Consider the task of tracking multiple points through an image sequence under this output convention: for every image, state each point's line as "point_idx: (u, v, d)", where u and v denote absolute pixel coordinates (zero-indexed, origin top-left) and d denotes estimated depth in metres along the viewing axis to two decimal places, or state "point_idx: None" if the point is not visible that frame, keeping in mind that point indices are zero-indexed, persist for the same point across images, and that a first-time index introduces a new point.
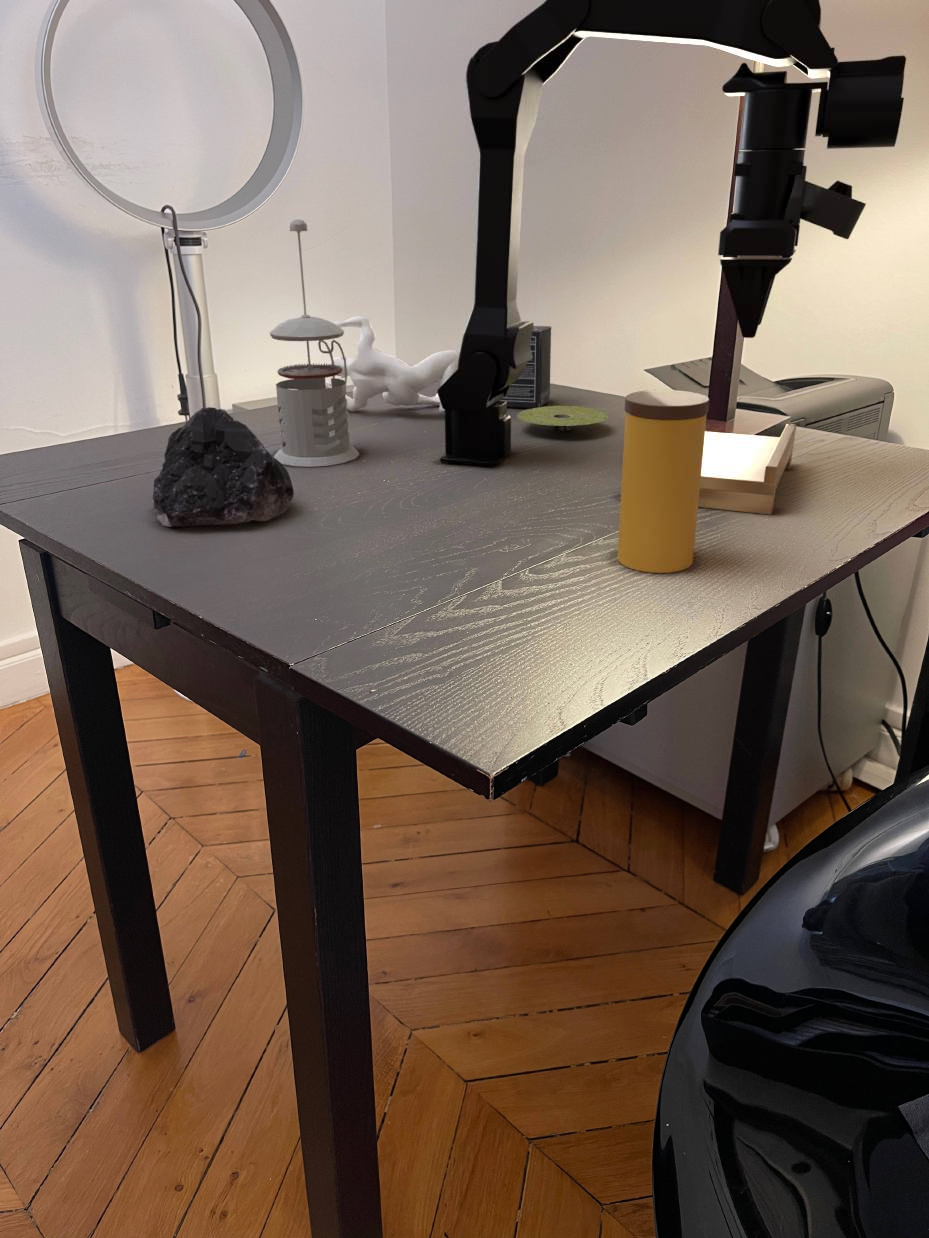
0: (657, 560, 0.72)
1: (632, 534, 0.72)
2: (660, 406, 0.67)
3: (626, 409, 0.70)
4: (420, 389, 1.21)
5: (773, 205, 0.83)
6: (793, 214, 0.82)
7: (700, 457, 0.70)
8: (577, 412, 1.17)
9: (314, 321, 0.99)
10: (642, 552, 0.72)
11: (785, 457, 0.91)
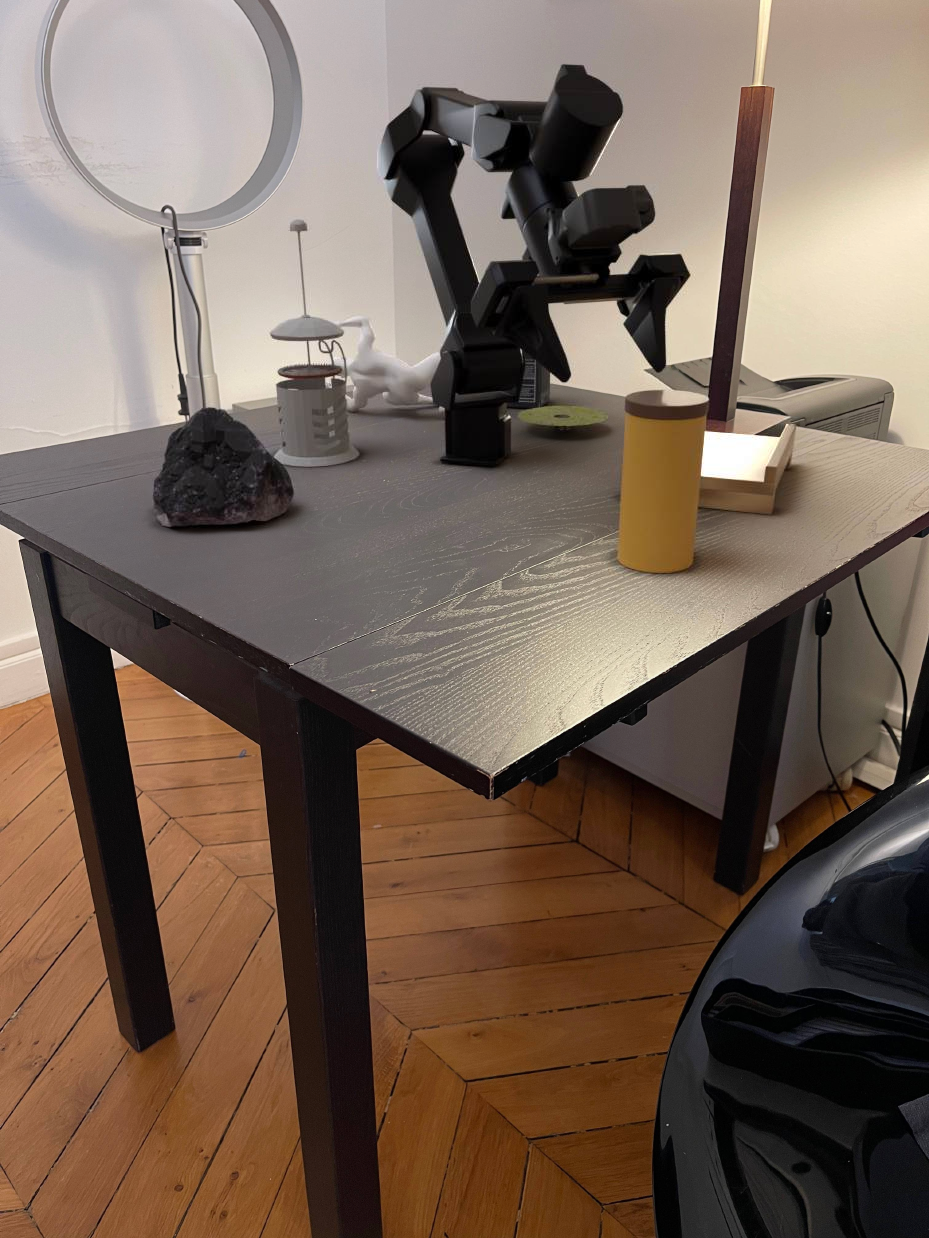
0: (657, 560, 0.72)
1: (632, 534, 0.72)
2: (660, 406, 0.67)
3: (626, 409, 0.70)
4: (420, 389, 1.21)
5: (546, 259, 0.78)
6: (555, 251, 0.76)
7: (700, 457, 0.70)
8: (577, 412, 1.17)
9: (314, 321, 0.99)
10: (642, 552, 0.72)
11: (785, 457, 0.91)
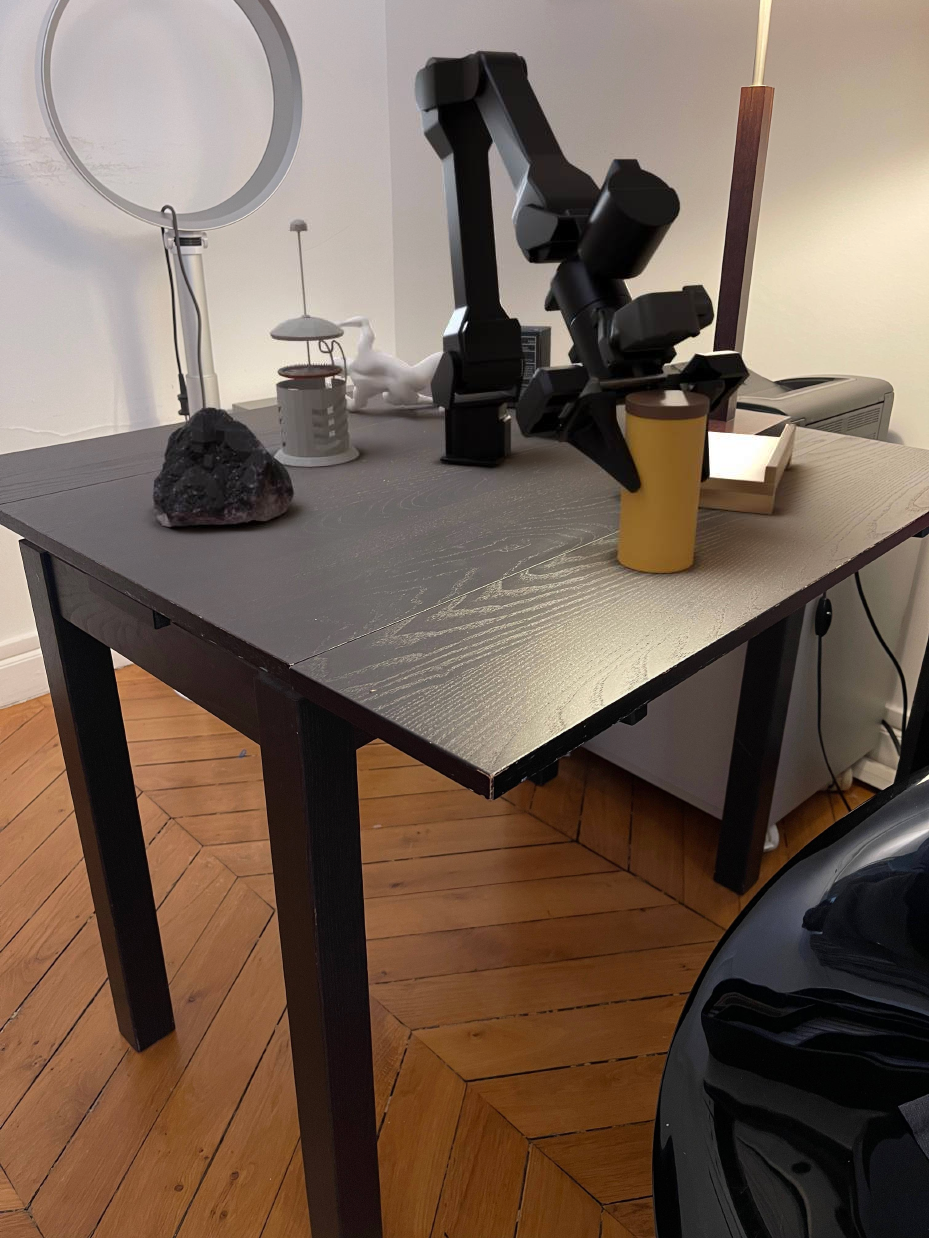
0: (657, 560, 0.72)
1: (632, 534, 0.72)
2: (660, 406, 0.67)
3: (626, 409, 0.70)
4: (420, 389, 1.21)
5: (595, 361, 0.73)
6: (606, 354, 0.71)
7: (700, 457, 0.70)
8: None
9: (314, 321, 0.99)
10: (642, 552, 0.72)
11: (785, 457, 0.91)
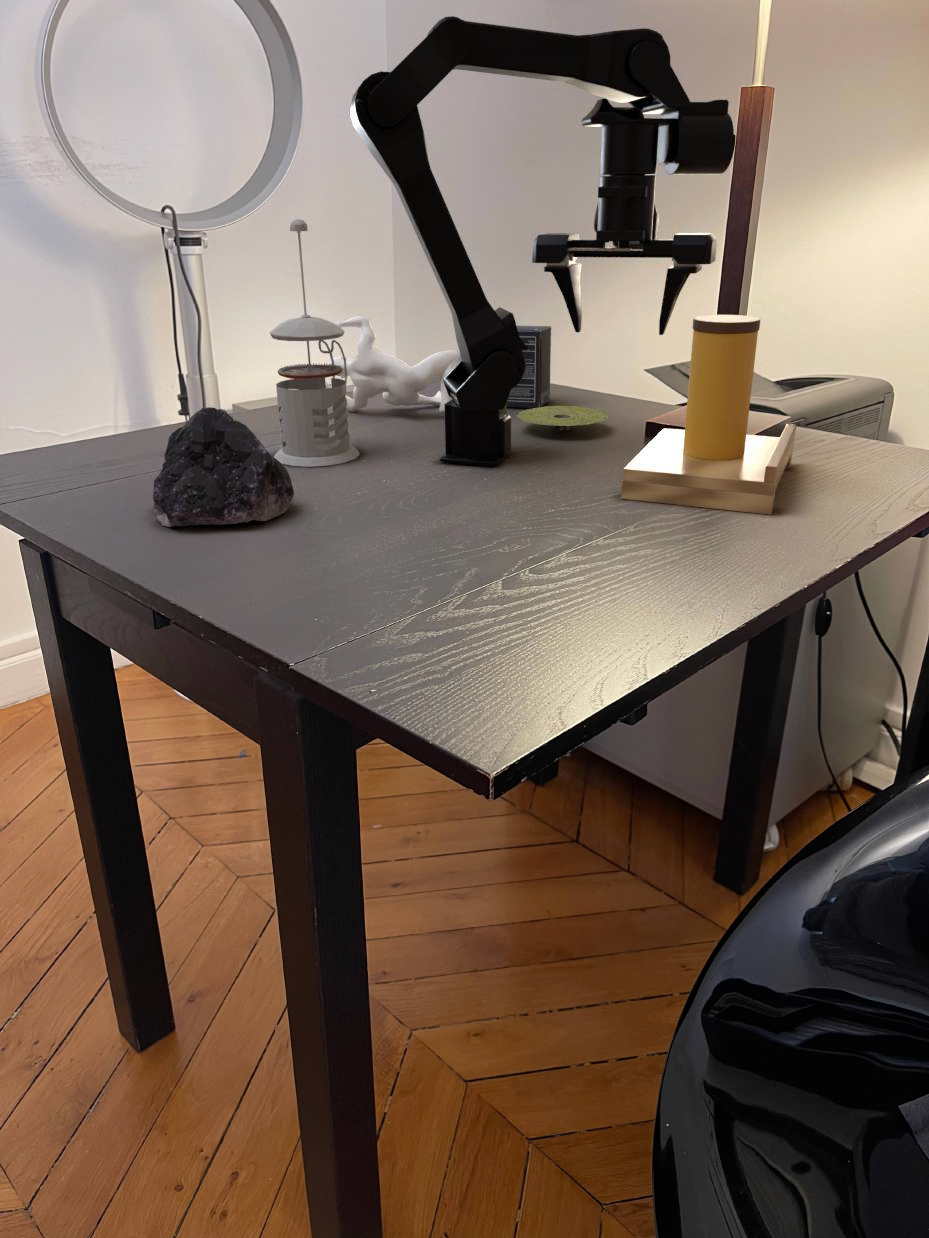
0: (737, 448, 0.91)
1: (719, 431, 0.90)
2: (747, 322, 0.86)
3: (711, 330, 0.87)
4: (420, 389, 1.21)
5: None
6: (656, 229, 0.99)
7: None
8: (577, 412, 1.17)
9: (314, 321, 0.99)
10: (729, 444, 0.91)
11: (785, 457, 0.91)
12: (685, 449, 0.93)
